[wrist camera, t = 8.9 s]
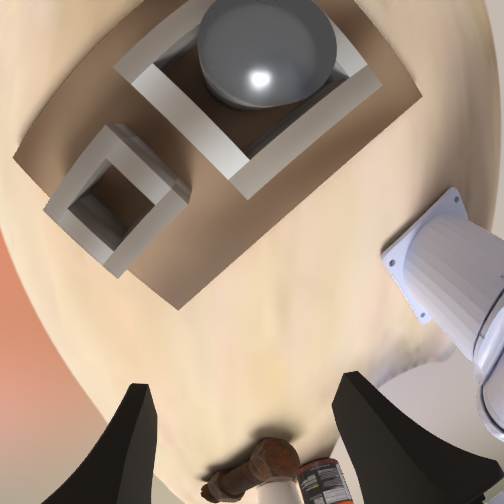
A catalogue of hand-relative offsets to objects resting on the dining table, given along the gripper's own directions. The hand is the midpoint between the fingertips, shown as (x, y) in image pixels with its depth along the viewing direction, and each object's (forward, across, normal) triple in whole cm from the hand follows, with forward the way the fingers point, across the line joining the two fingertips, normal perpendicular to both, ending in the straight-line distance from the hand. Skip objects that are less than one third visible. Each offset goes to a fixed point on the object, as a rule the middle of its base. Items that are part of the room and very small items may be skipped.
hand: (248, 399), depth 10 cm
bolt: (+10, -1, +26) cm, 28 cm away
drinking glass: (+10, -7, +37) cm, 39 cm away
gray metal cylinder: (+8, 0, -12) cm, 15 cm away
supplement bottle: (+10, -12, +30) cm, 34 cm away
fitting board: (+9, +1, -10) cm, 14 cm away
